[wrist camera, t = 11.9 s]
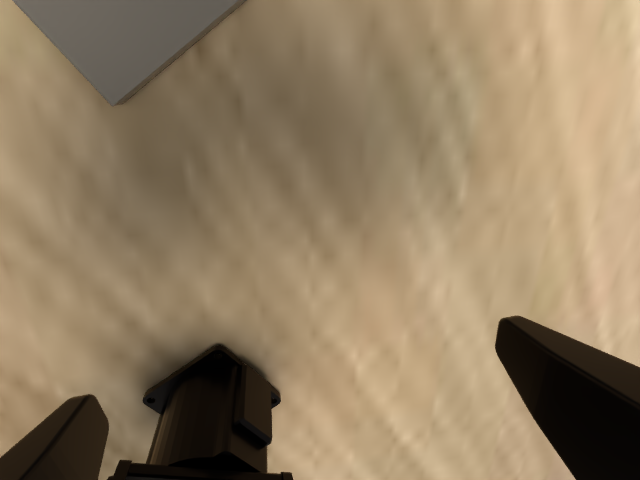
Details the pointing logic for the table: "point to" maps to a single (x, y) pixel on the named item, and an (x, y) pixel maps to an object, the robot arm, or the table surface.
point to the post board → (124, 36)
